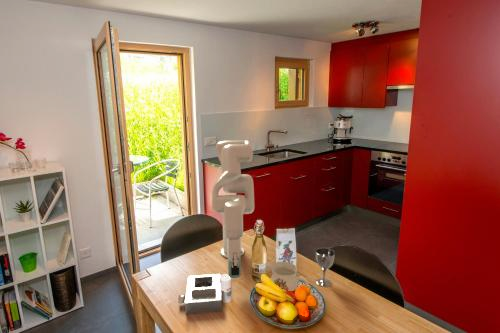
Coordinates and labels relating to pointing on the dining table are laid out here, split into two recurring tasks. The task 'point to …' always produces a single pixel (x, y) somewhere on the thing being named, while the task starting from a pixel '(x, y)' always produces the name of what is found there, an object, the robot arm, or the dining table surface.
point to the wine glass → (324, 264)
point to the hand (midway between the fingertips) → (234, 270)
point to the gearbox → (202, 294)
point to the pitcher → (285, 275)
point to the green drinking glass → (230, 268)
